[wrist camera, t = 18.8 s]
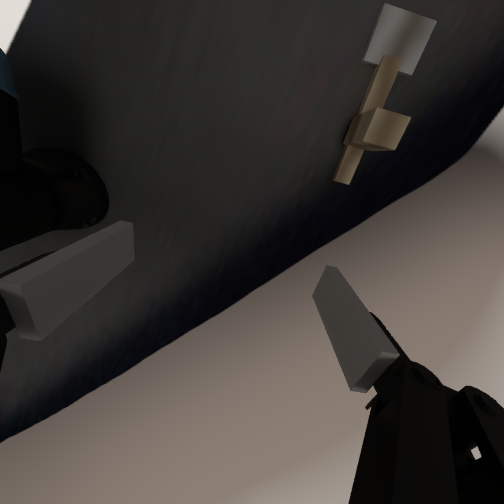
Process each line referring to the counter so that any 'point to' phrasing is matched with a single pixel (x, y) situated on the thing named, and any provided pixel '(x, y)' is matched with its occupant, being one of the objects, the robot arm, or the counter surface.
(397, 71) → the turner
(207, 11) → the counter surface
